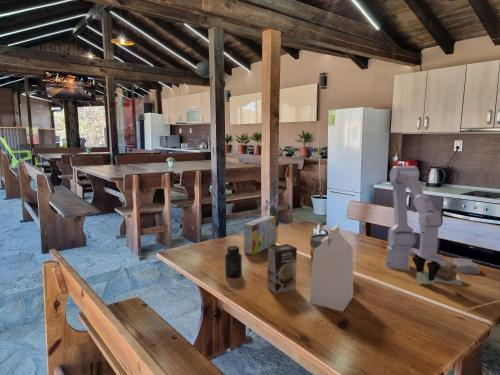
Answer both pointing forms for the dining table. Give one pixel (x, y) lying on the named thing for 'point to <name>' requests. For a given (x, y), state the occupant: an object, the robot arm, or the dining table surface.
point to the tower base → (446, 276)
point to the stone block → (465, 266)
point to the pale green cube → (424, 277)
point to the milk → (332, 272)
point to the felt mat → (456, 281)
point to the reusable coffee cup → (316, 242)
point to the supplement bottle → (233, 262)
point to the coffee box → (282, 268)
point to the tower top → (449, 268)
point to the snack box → (259, 235)
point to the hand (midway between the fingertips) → (425, 277)
